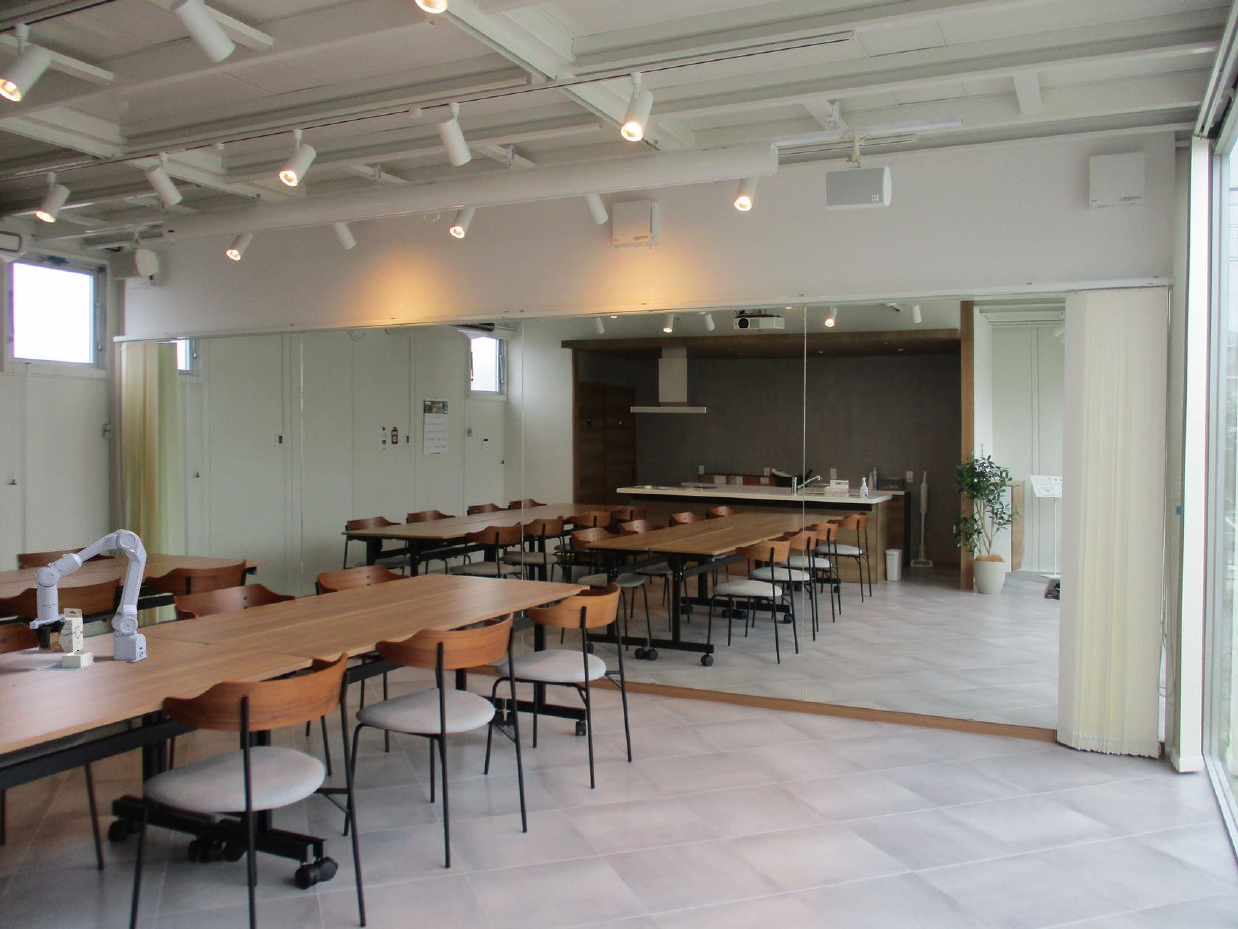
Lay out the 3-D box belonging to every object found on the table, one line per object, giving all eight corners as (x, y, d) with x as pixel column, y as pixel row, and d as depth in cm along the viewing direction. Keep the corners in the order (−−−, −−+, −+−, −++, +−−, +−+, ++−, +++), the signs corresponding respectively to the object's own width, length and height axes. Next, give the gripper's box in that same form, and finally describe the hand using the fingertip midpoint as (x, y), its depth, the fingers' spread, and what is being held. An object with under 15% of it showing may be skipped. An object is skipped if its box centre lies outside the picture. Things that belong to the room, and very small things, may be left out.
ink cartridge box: (53, 651, 331) (51, 610, 331) (64, 648, 336) (63, 607, 336) (72, 652, 329) (71, 611, 329) (84, 649, 334) (82, 608, 333)
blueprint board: (97, 665, 309) (97, 651, 309) (76, 673, 298) (75, 658, 298) (57, 665, 310) (57, 650, 310) (34, 673, 299) (34, 658, 299)
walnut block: (59, 647, 304) (58, 632, 304) (50, 650, 300) (50, 635, 300) (47, 647, 304) (46, 632, 304) (38, 650, 300) (38, 635, 300)
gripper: (51, 600, 309) (52, 641, 309) (19, 608, 295) (21, 651, 295) (71, 600, 308) (72, 641, 309) (41, 608, 294) (42, 651, 294)
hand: (49, 646), depth 302 cm, fingers closed on walnut block, 4 cm apart
